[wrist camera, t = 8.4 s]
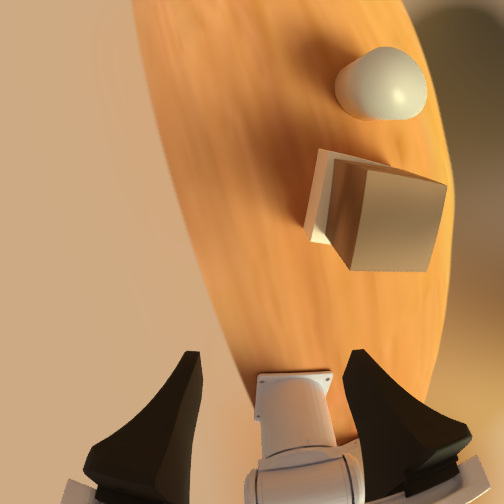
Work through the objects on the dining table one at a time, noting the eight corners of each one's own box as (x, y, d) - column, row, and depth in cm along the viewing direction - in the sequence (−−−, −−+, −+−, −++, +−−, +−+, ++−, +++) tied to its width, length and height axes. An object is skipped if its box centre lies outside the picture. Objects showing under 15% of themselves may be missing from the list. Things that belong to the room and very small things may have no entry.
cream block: (371, 237, 21) (387, 252, 18) (302, 226, 21) (310, 241, 18) (389, 165, 19) (409, 172, 16) (317, 148, 18) (329, 150, 16)
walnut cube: (389, 239, 18) (426, 272, 13) (324, 235, 18) (349, 270, 13) (402, 169, 16) (447, 185, 11) (334, 158, 16) (367, 169, 11)
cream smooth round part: (388, 125, 17) (426, 126, 13) (333, 115, 17) (360, 110, 13) (390, 71, 15) (426, 59, 11) (334, 58, 15) (360, 38, 11)
